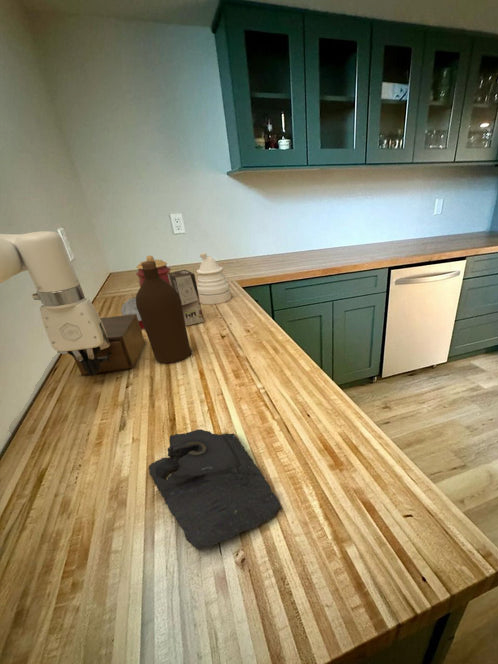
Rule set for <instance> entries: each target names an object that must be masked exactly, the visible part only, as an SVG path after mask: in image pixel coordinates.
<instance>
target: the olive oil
mask: <svg viewBox="0 0 498 664" xmlns="http://www.w3.org/2000/svg"><path fill="white" fill-rule="evenodd" d="M146 261H147V260H146ZM142 262H143V261H142ZM140 263H141V262H140ZM141 265H142V267H143V269H142V270H143V274H144V277H145V280H144V282H143V284H142V286H141V287H140V286H139V289H138V291H137V292H136V296H135V297H136V306H137V309H138V312H139V315H140V317H141V320H142V323H143V325H144V328H145V329H144V331H145V334H146V336H147V339H148V342H149V344H150V347H151V350H152V354H153V356H154V359H155V361H156V362H158V363H160V364H174V363H178V362H182V361H183V360H185V359H187V358H188V357H189V356H190V355H191V353H192V351H191V346H190V342H189V336H188V331H187V325H185V320H184V314H183V309H182V301H181V299H180V296H179V294H178V292H177V291H176V289H175V288H174V287H172V286H171V285H170V284H168V283H167V282H165V281H164V280H162V279H161V278H160V277H159V273H158V269H157V267H156V263H155V262H154V261H147V262H143V263H141Z"/></svg>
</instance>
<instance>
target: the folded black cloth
mask: <svg viewBox="0 0 498 664" xmlns="http://www.w3.org/2000/svg"><path fill="white" fill-rule="evenodd" d="M167 456H168V457H161V458H160V459H158V460H155V461H154V462H151V463H150V464H149V465H148V470H149V476H151V478H152V480H153V482H154V484H155V487H156V488H157V490H158V492H160V495H161V497H162V498H163V500H164V501H165V502H164V504H165V505H167V508H168V511H169V513H171V515H172V516H173V517H174V518H175V520H176V522H177V523H178V525H179V527H180V528H181V529H182V530H183V533H184V537H185V540H186V541H187V542H188V543H189V544H190V545H191V546H192V547H193V548H194V549H196V550H199V551H202V550H205V549H208V548H210V547H212V546H214V545H217V544H218V543H222V542H223V541H226V540H229V539H233V537H236V536H237V535H239V534H241V533H242V532H246V531H249V530H252V529H255V528H256V527H258V526H259V525H261V524H263V523H264V522H266V521H269V520H271V519H272V518H273V517H274V516H276V515H277V513H278V511H279V510H282V509H283V506H282V504H281V502H280V501H279V498H278V497H277V495H276V494H275V493H274V492H273V491H272V488H271V486H270V485H269V483H268V481H267V480H266V479H265V477H264V475H263V473H262V471H261V470H260V468H259V467H258V466H257V465H256V463H255V462H254V460H253V458H252V457H251V455H250V454H249V452H248V451H247V450H246V448H245V446H244V445H243V444H242V443H241V440H240V439H238V436H237V435H236V434H235V433H222V434H218V433H212V432H211V431H209V430H205V429H195V430H191V431H188V432H185V433H175V434H171V435H170V436H169V447H168V448H167Z"/></svg>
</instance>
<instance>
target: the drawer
mask: <svg viewBox="0 0 498 664" xmlns="http://www.w3.org/2000/svg"><path fill="white" fill-rule="evenodd" d="M109 342H110V345H109V347H108V348H105V349H102V350H99V352H98V353H97V358H98V360H99V363H100V365H101V368H100V370H99V372H101V371H108V370H115V369H122V368H129V366H130V364H129V361H128V358H127V356H126V353H125V350H124V347H123V344H122V342H121V340H117V341H109ZM85 351H86V353H87V350H86V349H85ZM72 357H73V359H74V361H76V362H75V364H76V366H77V368H78V371H79V370H80V371H79V373H80V375H81V374H87V371H85V370H84V367H83V365H82V363H81V361H79V360H77V358H76V357H74V356H72Z"/></svg>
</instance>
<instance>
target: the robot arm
mask: <svg viewBox="0 0 498 664" xmlns="http://www.w3.org/2000/svg"><path fill="white" fill-rule="evenodd" d="M25 271H27V272H28V274H29V276H30V278H31V280H32V282H33V285H34V287H35V289H36V292H34V293H32V295H31V296H32V299H33V300H34V301H40V303H41V304H42V305H41V306H40V307H39V312H40V315H41V320H42V324H43V326H44V331H45V332H46V336H47V338H48V342H49V343H50V345H51V347H52V349H53V350H54V351H56V352H57V353H58V355H59V354H60V355H61V354H62V355H69V356H72V357H73V356H74V357H76V358H77V360H79V361H81V363H82V365H83V367H84V370H85V371H87V373H88V375H87V376H88V377H91V376H97V374H99V373H98V372H99V370H100V368H101V365H100V363H99V360H98V358H97V353H98V352H99V350H102V349H105V348H108V347H109V345H110V342H109V341H108V339H107V334H106V330H105V328H104V326H103V323H102V321H101V319H100V318H101V317H100V315H99V313H98V311H97V309H96V308H95V305H93V303H92V301H91V300H90V298H88V297H85V293H84V291H83V289H82V286H81V283H80V281H79V278H78V275H77V273H76V270H75V268H74V265H73V262H72V259H71V257H70V255H69V253H68V249H67V246H66V244H65V242H64V239H63V237H62V236H61V234H59V233H58V232H56V231H52V230H43V231H33V232H26V233H21V234H13V233H8V234H7V233H0V284H1V283H2V284H3V283H4V282H6V281H7V280H9V279H11V278H13V277H15V276H16V275H18V274H20V273H22V272H25ZM85 349H86V350H87V353H86V351H85ZM74 357H73V358H74Z"/></svg>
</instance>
